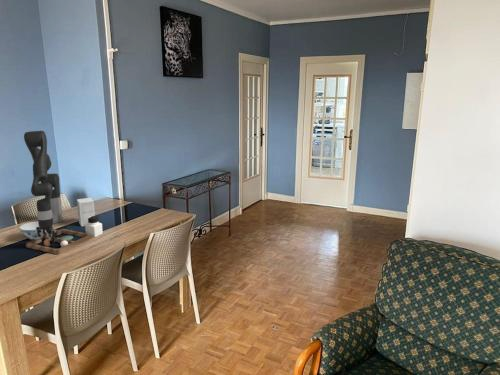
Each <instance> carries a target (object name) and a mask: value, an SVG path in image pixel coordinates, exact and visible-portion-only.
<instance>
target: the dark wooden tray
mask: <svg viewBox="0 0 500 375" xmlns="http://www.w3.org/2000/svg"><path fill="white" fill-rule="evenodd" d="M62 234H65V235H68V236H73V237H74V236H75V237H78V238H79V237H80V238H79V239H77V240H72V239H71V240H66V239H61V238H60V237H57V239H54V243H57V244H60V243H61V242H62V241H64V240H65V241H67V242H68V245H66V246H63V247H59V248H55V247H51V246H45V245H40V244H41V243H42V239H41V237H40V238H38V239H32V240H30V241H28V242H25V243H24V244H25V248H28V249H32V250H36V251H42V252H45V253H50V254H54V255H59V254H61V253H64V252H66V251H68V250H70V249H73V248H74V247H76V246H78V245H81V244H83V243H85V242H88V241H90V240H91V239H93V237H92V234H87V233H86V232H82V231H77V230H71V229H66V228H61V229H57V236H58V235H59V236H60V235H62ZM49 235H51V234H49ZM45 238H46V239H49V237H48V236H47V235H46V237H45ZM51 238H52V236H51Z"/></svg>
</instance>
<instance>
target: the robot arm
mask: <svg viewBox="0 0 500 375" xmlns="http://www.w3.org/2000/svg"><path fill="white" fill-rule="evenodd" d="M23 139H24V143H25V145H26V147H27V149H28V151H29V152H30V155H31V158H32V160H33V164H32V175H33V177H32V178H33V179H32V183H31V188H30V193H31V194H32V196H33V197H42V196H44V198H40V199H38V200H37V201H36V210H37V212H36V214H37V215H36V216H37V221H38V225H39V227H36V230H37V234H38V237H41V239H42V242H41V244H42V246H45V245H44V241H45V240H46V238H45V237H46V235H47V236H48V237H49V239H50V246H49V247H54V246H55V243H56V242H54V239H57V238H58V235H57V231H58V229H57V228H56V229H54V227H53V225H54V224H57V223H60V222H63V221H64V218H63V217H64V216H63V209H62V208H63V206H62V199H61V188H60V187H61V186H60V176H59V174H58V173H48V171H49V170H50V169H51V167H52V161H51V158H50V157H51V156H50V155H49V154H48V138H47V134H46V132H45V131H44V130H32V131H26V132H24V134H23ZM40 233H41V234H40ZM49 234H51V235H49ZM51 236H52V238H51Z"/></svg>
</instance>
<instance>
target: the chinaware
mask: <svg viewBox="0 0 500 375" xmlns="http://www.w3.org/2000/svg"><path fill="white" fill-rule="evenodd" d="M36 227H39V225H38V220H37V221H32V222H31V221H30V222H26V223H23V224H22V225H20V226H19V231H20V232H21V234H22V235H23V236H24V237H26V238H28V239H29V240H35V239H38V238H40V237H38V234H37V230H36ZM40 234H41V233H40Z"/></svg>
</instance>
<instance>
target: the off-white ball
mask: <svg viewBox="0 0 500 375" xmlns="http://www.w3.org/2000/svg"><path fill="white" fill-rule="evenodd" d="M59 244H60V246H61V247H63V246H66V245H68V242H67V241H65V240H64V241H62V242H61V243H59ZM61 247H60V248H61Z"/></svg>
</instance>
